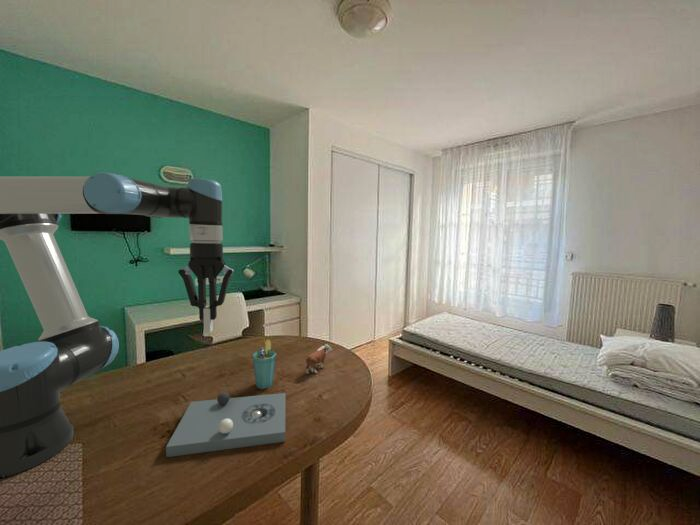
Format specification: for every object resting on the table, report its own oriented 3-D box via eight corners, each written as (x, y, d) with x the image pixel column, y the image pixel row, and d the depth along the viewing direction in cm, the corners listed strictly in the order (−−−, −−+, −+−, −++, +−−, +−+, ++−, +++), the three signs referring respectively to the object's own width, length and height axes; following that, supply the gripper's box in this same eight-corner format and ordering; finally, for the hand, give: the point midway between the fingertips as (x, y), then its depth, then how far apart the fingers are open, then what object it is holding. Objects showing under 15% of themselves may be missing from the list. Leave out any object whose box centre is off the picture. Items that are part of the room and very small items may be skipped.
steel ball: (252, 413, 72) (263, 416, 73) (253, 406, 76) (264, 409, 76) (247, 425, 72) (259, 427, 73) (249, 417, 76) (260, 419, 76)
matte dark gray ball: (216, 407, 76) (215, 396, 76) (218, 400, 79) (218, 390, 79) (228, 406, 77) (228, 395, 77) (230, 399, 80) (230, 389, 80)
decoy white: (217, 437, 65) (217, 425, 65) (220, 428, 68) (220, 416, 68) (231, 436, 66) (231, 423, 66) (234, 426, 69) (234, 414, 69)
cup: (274, 397, 86) (274, 350, 85) (248, 399, 85) (248, 352, 83) (277, 374, 100) (277, 334, 98) (254, 376, 98) (254, 335, 97)
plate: (166, 457, 62) (166, 446, 62) (191, 410, 79) (191, 401, 79) (285, 441, 68) (285, 432, 68) (285, 400, 85) (285, 392, 84)
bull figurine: (333, 363, 110) (333, 343, 109) (311, 377, 98) (311, 355, 98) (324, 360, 112) (324, 341, 111) (301, 374, 101) (302, 352, 100)
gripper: (172, 242, 66) (175, 338, 68) (231, 243, 69) (232, 335, 71) (183, 241, 73) (186, 327, 75) (236, 242, 76) (237, 325, 78)
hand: (208, 331), depth 73 cm, fingers closed
